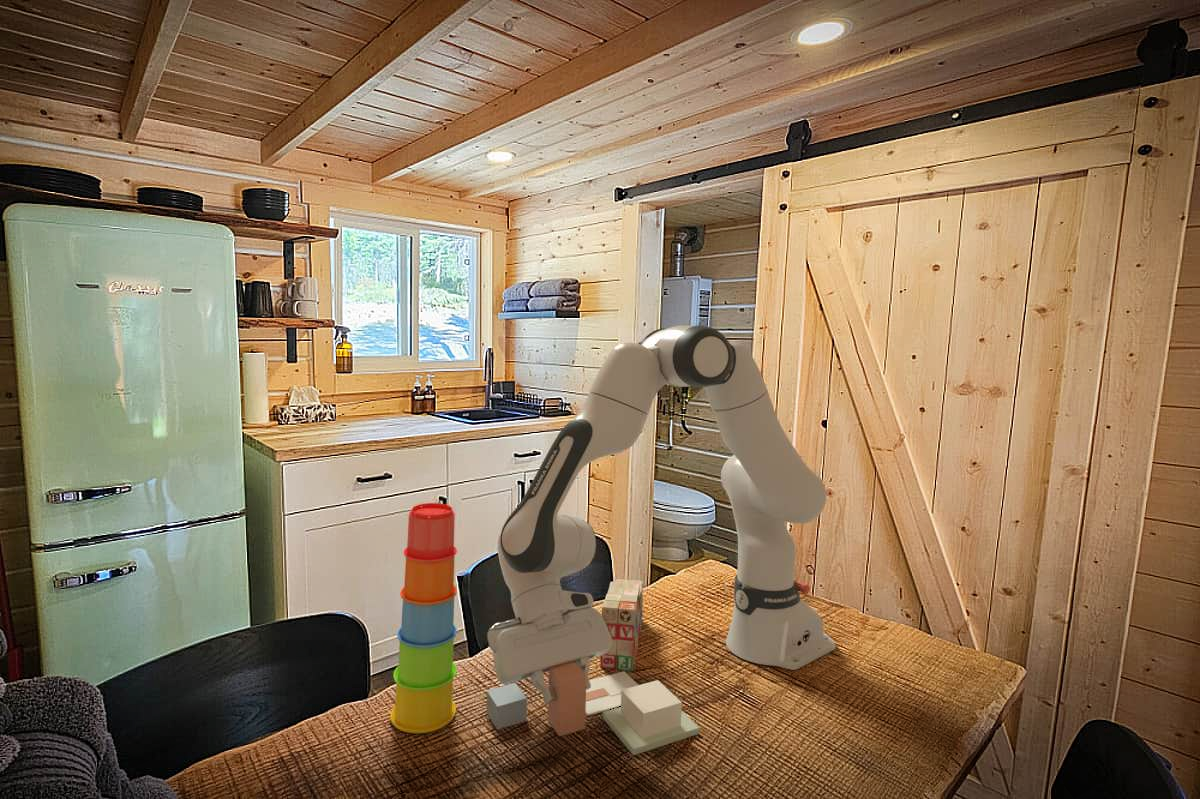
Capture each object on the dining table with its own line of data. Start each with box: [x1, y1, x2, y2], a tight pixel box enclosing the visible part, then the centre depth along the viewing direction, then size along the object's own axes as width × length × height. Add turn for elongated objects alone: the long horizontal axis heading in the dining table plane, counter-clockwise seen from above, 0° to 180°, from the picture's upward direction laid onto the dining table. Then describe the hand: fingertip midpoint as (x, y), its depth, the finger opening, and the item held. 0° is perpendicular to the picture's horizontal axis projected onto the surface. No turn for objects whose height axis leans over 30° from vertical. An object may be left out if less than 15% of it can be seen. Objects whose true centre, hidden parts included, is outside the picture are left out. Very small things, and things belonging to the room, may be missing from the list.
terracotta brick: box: [547, 661, 587, 737], centre depth 98 cm, size 4×4×9 cm
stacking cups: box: [389, 502, 458, 734], centre depth 98 cm, size 10×10×35 cm
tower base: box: [602, 679, 701, 756], centre depth 98 cm, size 12×10×5 cm
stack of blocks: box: [599, 578, 644, 672], centre depth 125 cm, size 21×6×12 cm, turn 171°
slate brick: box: [486, 682, 528, 730], centre depth 100 cm, size 5×5×4 cm
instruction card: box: [585, 670, 639, 717], centre depth 107 cm, size 12×9×1 cm
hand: (569, 695), depth 97 cm, fingers closed on terracotta brick, 5 cm apart
